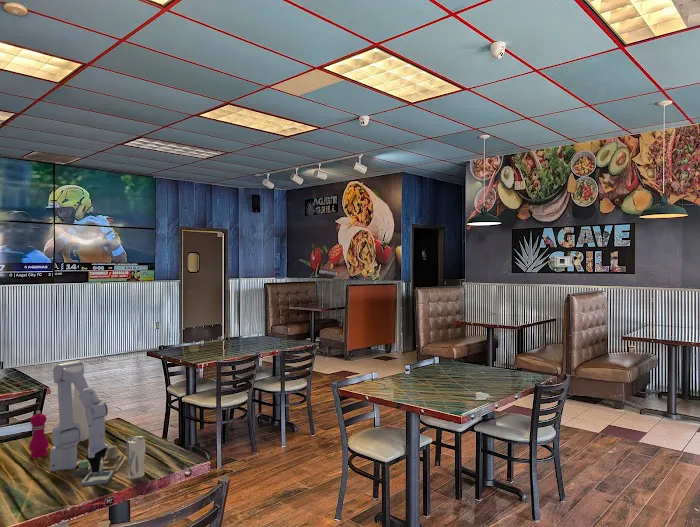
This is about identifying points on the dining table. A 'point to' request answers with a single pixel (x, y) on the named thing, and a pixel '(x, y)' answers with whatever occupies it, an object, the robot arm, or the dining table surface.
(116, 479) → the dining table surface
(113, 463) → the light brown divided box
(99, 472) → the cylinder
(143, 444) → the beer glass
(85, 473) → the switch box
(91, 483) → the tray
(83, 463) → the button
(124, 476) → the dining table surface
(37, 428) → the pepper mill
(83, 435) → the alcohol
